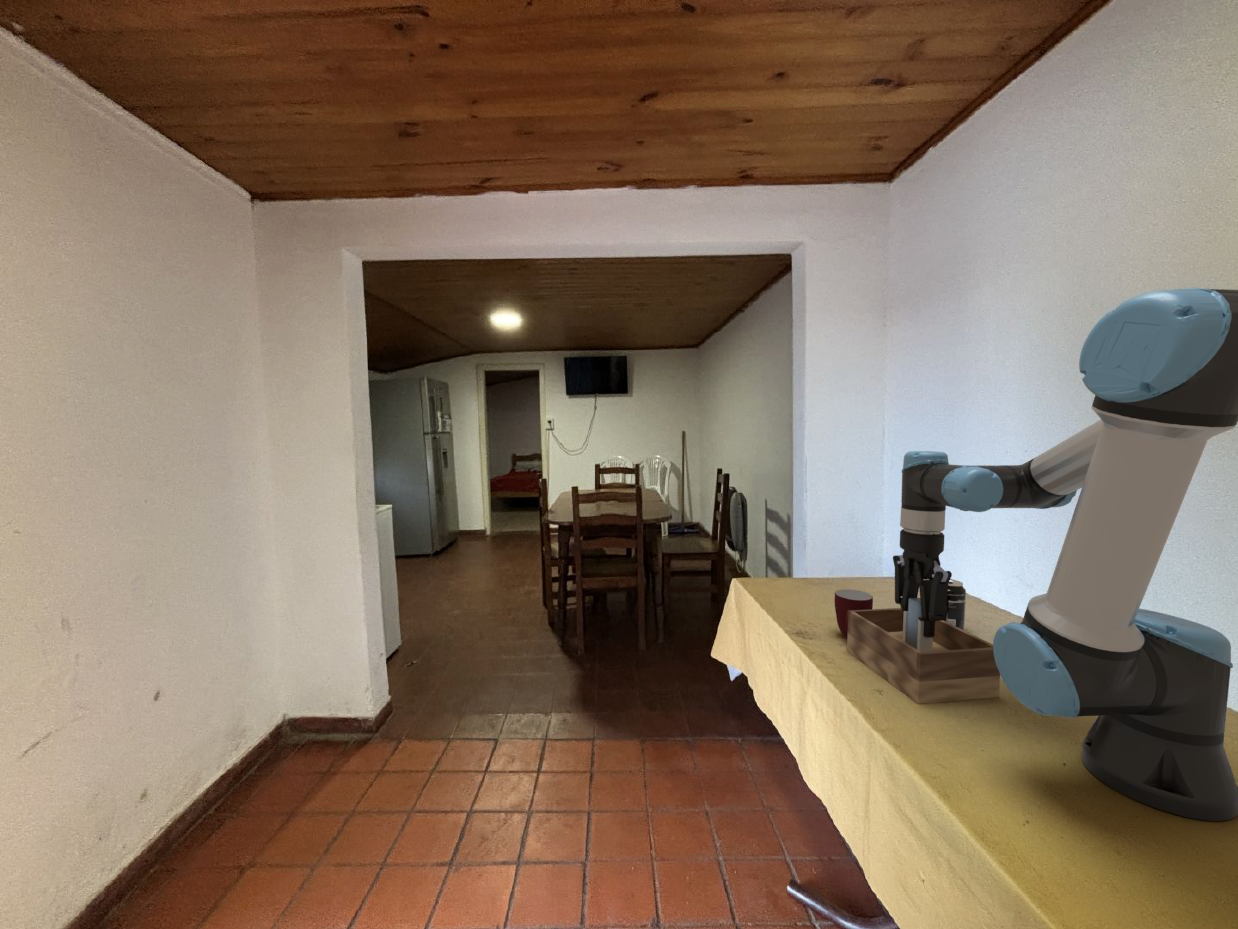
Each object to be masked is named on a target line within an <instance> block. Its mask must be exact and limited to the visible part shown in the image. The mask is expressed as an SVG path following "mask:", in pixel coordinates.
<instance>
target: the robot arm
mask: <svg viewBox="0 0 1238 929" xmlns="http://www.w3.org/2000/svg"><path fill="white" fill-rule="evenodd" d="M1078 365H1079V366H1078V368H1079V372H1080V373H1081V374H1083V375H1084V376H1083V377H1082V379H1081V380H1082V382H1083V384H1084V386H1085V387H1086V388H1087V390H1088V391H1089V392H1091V393H1092V394H1093V395H1094V397H1093V401H1092V404H1091V409H1092V411H1093V412H1094V413H1095V414H1096V415H1097V417H1099V420H1098V421H1096V422H1094V423H1092V424H1091V425H1088V426H1087V427H1085V428H1084V429H1082V430H1080V431H1078V432H1077V433H1075V434H1072V436H1070V437H1068V438H1066V439H1065V440H1063V441H1062V442H1060V443H1058V444H1056V445H1054V446H1052V447H1051V448H1049V449H1048V450H1046V451H1043V453H1041V454H1039V455H1037V456H1035V457H1033V458H1031V459H1030V460H1028V461H1027V462H1025V463H1022V464H1017V465H1016V464H1013V465H1012V464H1006V465H1005V464H1004V465H1003V464H1002V465H985V464H984V465H982V464H981V465H962V464H961V465H960V464H950V463H949V455H948V454H947V453H946V452H945V451H944V452H943V451H932V450H930V451H929V450H912V451H907V452H906V453H904V456H903V465H902V469H901V500H900V501H901V507H900V518H899V519H900V522H899V523H900V524H899V526H900V527H901V528H902V529H901V530H899V548H900V549H902V550H903V552H902V554H901V555H900V554H899V555H893V556H892V561H893V565H894V602H895V604H897V605H899V606H900V608H901V609H902V610H903V611H902V624H903V638H902V641H904V642H905V643H907V628H908V605H909V598H918V594H919V598H920V602H921V614H922V617H918V636H917V650H919V651H920V652H930V651H932V645H933V637H934V635H935V622H936V621H942V620H945V613H946V603H947V593H948V583H949V581H950V579H952V576H953V573H952V572H951V571H950V570H946V569H944V568H943V567H942V566H941V561H940V555H941V554H942V553H943V552H944V550H945V534H944V533H943V531H944V530H945V526H946V525H945V524H946V510H947V509H946V508H947V507H949V508H954V509H956V510H959V511H962V512H974V513H975V512H976V513H983V512H987V511H990V510H991V509H1038V510H1046V509H1050V508H1051V509H1052V508H1060V507H1061V508H1062V507H1065V506H1068V505H1069V504H1070V503H1071V502H1072V500H1073V498H1074V497H1076V494H1077V491H1078V490H1080V489H1081V490H1080V492H1079V495H1078V499H1077V502H1076V505H1075V507H1074V511H1073V514H1072V517H1071V519H1070V522H1069V526H1068V528H1067V531H1066V535H1065V538H1064V541H1063V544H1062V546H1061V550H1060V553H1059V556H1058V558H1057V561H1056V565H1055V566H1054V567H1055V568H1054V570H1053V574H1052V576H1051V579H1050V583H1049V586H1048V589H1047V591H1046V593H1043V594H1038V595H1035V596H1033V597H1031V598H1030V600H1029V601H1028V603H1027V605H1026V609H1025V612H1024V615H1023V618H1022V620H1021V621H1020V622H1015V621H1012V622H1009V623H1007V624H1004V625H1001V626H1000V627H999V628H998V629H997V630H996V632H995V634H994V635H993V636H994V637H993V642H992V644H993V653H994V659H995V663H996V666H997V668H998V670H999V672H1000V678H1001V679H1002V681H1003V683H1004V685H1005V686H1006V688H1007V689H1008V690H1009V692H1010V693H1011V694H1012V695H1013V696H1014V698H1015V699H1016V700H1018V702H1020V703H1021V704H1022V705H1023V706H1025V707H1026V708H1027V709H1029V710H1031V711H1032V712H1034V713H1037V714H1039V715H1043V716H1048V717H1049V716H1051V717H1063V718H1068V719H1071V718H1076V717H1096V719H1095V721H1094V722H1093V724H1092V726H1091V727H1090V729H1089V730H1088V733H1087V734H1086V736H1085V738H1084V739H1083V741H1082V750H1081V760H1082V763H1083V765H1084V766H1085V767H1086V769H1087V770H1088V771H1089V772H1090V773H1091V774H1092V775H1093V776H1094V777H1096V778H1097V779H1098V780H1099V781H1101V782H1102V783H1104V784H1105V785H1106V786H1109V787H1110V788H1112V789H1113V790H1115V791H1117V792H1119V793H1120V794H1122V795H1124V796H1126V797H1128V798H1130V799H1133V800H1135V801H1137V802H1139V803H1142V804H1144V805H1146V806H1150V807H1152V808H1155V809H1157V810H1160V811H1163V812H1165V813H1169V814H1173V815H1176V816H1181V817H1185V818H1189V819H1194V820H1201V821H1211V822H1220V821H1221V822H1222V821H1228V820H1232V819H1235V818H1236V817H1237V816H1238V785H1237V783H1236V779H1235V776H1234V774H1233V770H1232V766H1231V764H1230V761H1229V758H1228V755H1227V752H1226V750H1225V746H1224V742H1225V740H1224V738H1225V731H1226V730H1225V729H1226V720H1227V709H1228V699H1229V689H1230V688H1229V687H1230V678H1231V669H1232V668H1234V665H1233V663H1232V645H1231V642H1230V640H1229V639H1228V638H1227V637H1226V636H1225V635H1224V634H1223V633H1222V632H1220V631H1218V630H1217V629H1215V628H1212V627H1210V626H1207V625H1204V624H1202V623H1198V622H1196V621H1193V620H1190V619H1185V618H1182V617H1178V616H1175V615H1171V614H1167V613H1163V612H1159V611H1154V610H1149V609H1145V608H1140V606H1141V605H1142V602H1143V600H1144V597H1145V595H1146V593H1147V590H1148V588H1149V586H1150V582H1151V580H1152V577H1153V575H1154V573H1155V570H1156V568H1157V565H1158V563H1159V560H1160V557H1161V556H1162V553H1163V551H1164V549H1165V546H1166V543H1167V541H1168V539H1169V536H1170V534H1171V532H1172V528H1173V526H1174V524H1175V521H1176V518H1177V516H1178V514H1179V512H1180V509H1181V506H1182V504H1183V501H1184V499H1185V497H1186V494H1187V491H1188V490H1189V487H1190V484H1191V482H1192V480H1193V477H1194V474H1195V472H1196V470H1197V467H1198V466H1199V465H1198V464H1199V462H1200V459H1201V458H1202V455H1203V453H1204V451H1205V448H1206V445H1207V442H1208V441H1209V440H1210V439H1212V438H1213V437H1216V436H1218V435H1220V434H1223V433H1225V432H1227V431H1230V430H1233V429H1234V428H1236V426H1237V424H1238V289H1228V288H1227V289H1223V288H1221V289H1219V288H1217V289H1216V288H1201V287H1200V288H1198V287H1195V286H1194V287H1190V288H1188V287H1186V288H1177V289H1163V290H1154V291H1149V292H1144V293H1140V294H1137V295H1135V296H1133V297H1130V298H1128V299H1127V300H1124V301H1123V302H1121V303H1120V304H1119V305H1117V307H1116V308H1112V309H1111V310H1109V311H1108V312H1106V314H1104V315H1103V316H1102V317H1101V318H1100V319H1099V320H1098V322H1097V323H1096V324H1095V325H1093V327H1092V329H1091V331H1089V333H1088V335H1087V337H1086V338H1085V341H1084V343H1083V345H1082V347H1081V351H1080V355H1079V362H1078Z"/></svg>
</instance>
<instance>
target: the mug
mask: <svg viewBox="0 0 1238 929" xmlns="http://www.w3.org/2000/svg"><path fill="white" fill-rule="evenodd" d="M833 603H834V611H835V617H836V622H837V627H838V629H839V630H840V633H841V634H842V635H841V636H843V637H844V638H846V639H847V636H848V611H851V610H869V609H874V608H873V607H874V605H873V604H874V596H873V595H871V593H869V592H866V591H864V590H863V591H862V590H857V589H847V588H845V589H838V590H836V591H835V592H834V602H833Z"/></svg>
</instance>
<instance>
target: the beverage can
mask: <svg viewBox="0 0 1238 929" xmlns="http://www.w3.org/2000/svg"><path fill="white" fill-rule="evenodd" d="M963 585H964V583H963V582H962V581H959V580H957V579H952V578H951V579H950V581H949V583H948V593H947V603H946V613H945V620H943V621H945V622H947V623H950V624H952V625H954V626H956V627H958V628H960V629H962V630H964V631H965V623H966V622H965V619H966V601H967V599H966V598H967V590H966V588H965V587H964V586H963Z"/></svg>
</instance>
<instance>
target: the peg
mask: <svg viewBox="0 0 1238 929" xmlns="http://www.w3.org/2000/svg"><path fill="white" fill-rule="evenodd" d="M918 617H922V614H921V602H920V597H917V598H909V605H908V628H907V644H909V645H910V646H912V647H914V648H915V649H917V636H918Z"/></svg>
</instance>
